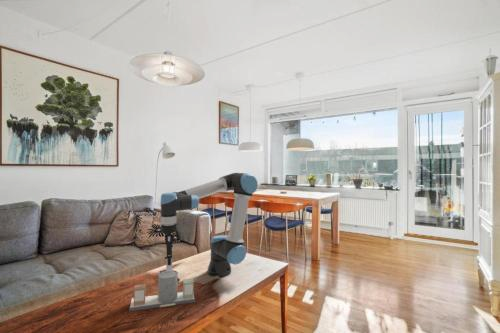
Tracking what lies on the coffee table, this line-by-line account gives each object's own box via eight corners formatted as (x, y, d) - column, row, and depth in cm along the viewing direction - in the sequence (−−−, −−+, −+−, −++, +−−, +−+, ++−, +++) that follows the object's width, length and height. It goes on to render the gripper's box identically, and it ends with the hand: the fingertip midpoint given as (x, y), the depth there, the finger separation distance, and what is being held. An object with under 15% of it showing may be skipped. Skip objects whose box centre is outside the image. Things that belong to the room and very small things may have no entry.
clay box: (145, 300, 129) (145, 284, 129) (144, 304, 126) (145, 288, 125) (134, 301, 128) (134, 285, 128) (133, 305, 124) (133, 289, 124)
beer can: (180, 294, 136) (181, 271, 135) (171, 304, 126) (172, 279, 126) (164, 292, 137) (164, 269, 137) (153, 301, 128) (154, 277, 128)
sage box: (192, 293, 137) (192, 278, 136) (193, 297, 133) (193, 282, 132) (182, 295, 135) (183, 279, 135) (183, 299, 131) (183, 283, 131)
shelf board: (192, 292, 140) (192, 288, 140) (195, 304, 129) (195, 299, 129) (132, 300, 131) (132, 295, 131) (128, 314, 120) (128, 308, 119)
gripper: (161, 218, 142) (161, 257, 142) (160, 231, 118) (160, 277, 119) (175, 217, 144) (175, 255, 145) (177, 229, 120) (177, 275, 121)
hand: (169, 265), depth 132 cm, fingers open, 13 cm apart
